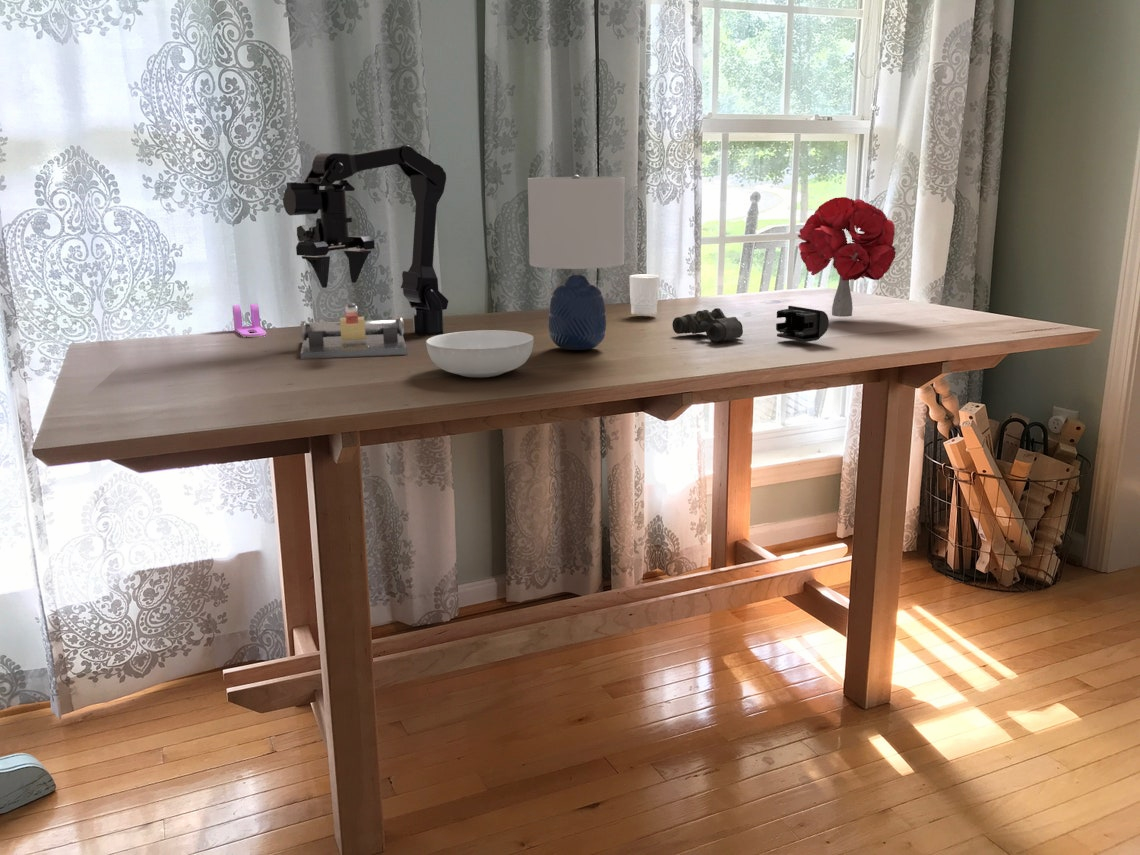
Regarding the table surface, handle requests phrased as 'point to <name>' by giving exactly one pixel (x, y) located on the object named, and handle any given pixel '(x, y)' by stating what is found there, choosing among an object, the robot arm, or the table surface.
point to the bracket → (254, 318)
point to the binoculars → (709, 325)
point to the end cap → (802, 324)
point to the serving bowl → (480, 351)
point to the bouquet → (848, 245)
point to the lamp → (576, 249)
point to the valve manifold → (353, 338)
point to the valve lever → (351, 313)
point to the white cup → (644, 293)
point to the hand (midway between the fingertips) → (339, 285)
